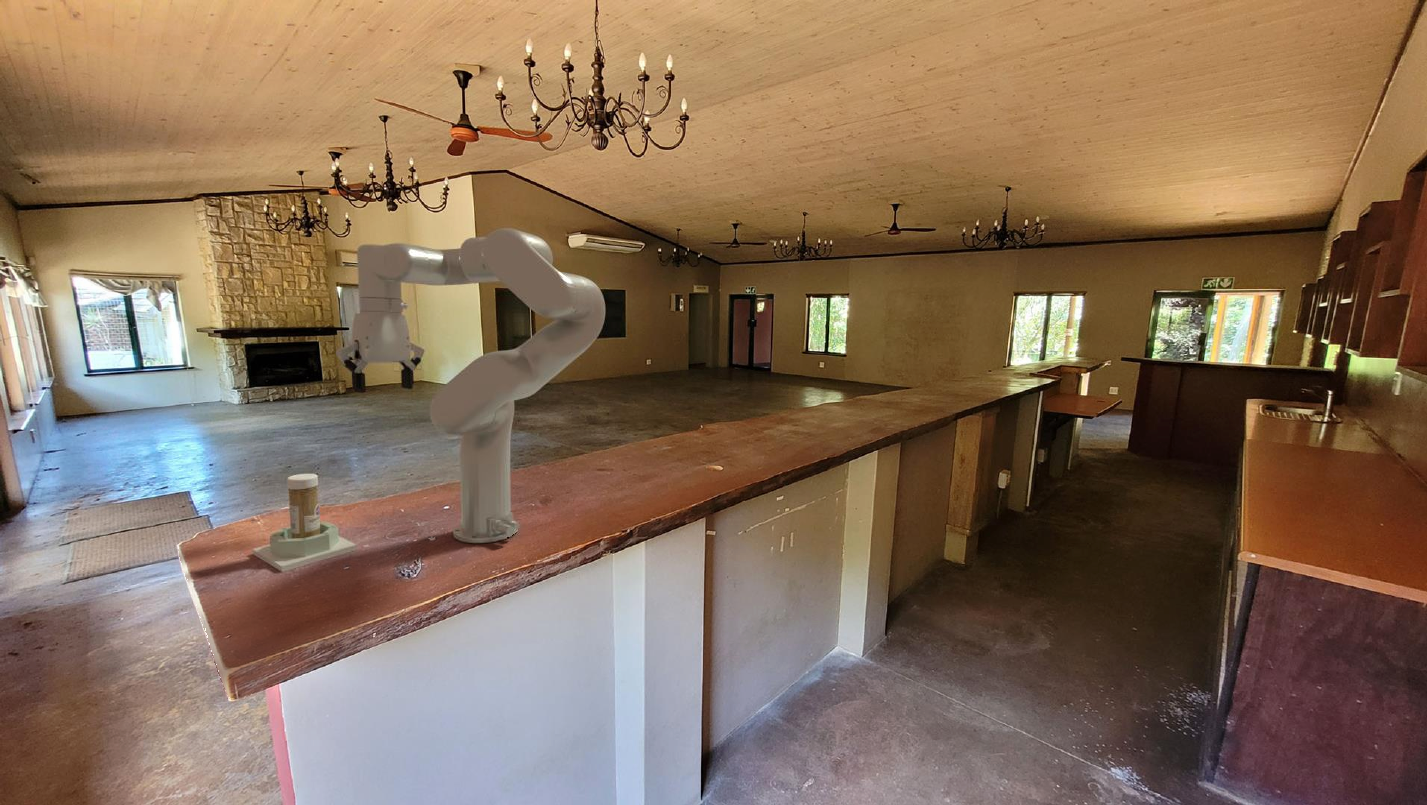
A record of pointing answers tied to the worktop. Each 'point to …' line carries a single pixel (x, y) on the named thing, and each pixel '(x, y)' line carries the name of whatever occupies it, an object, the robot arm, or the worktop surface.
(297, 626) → the worktop surface
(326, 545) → the bottle collar
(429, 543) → the worktop surface
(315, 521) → the sprinkles bottle
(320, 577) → the worktop surface
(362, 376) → the robot arm
